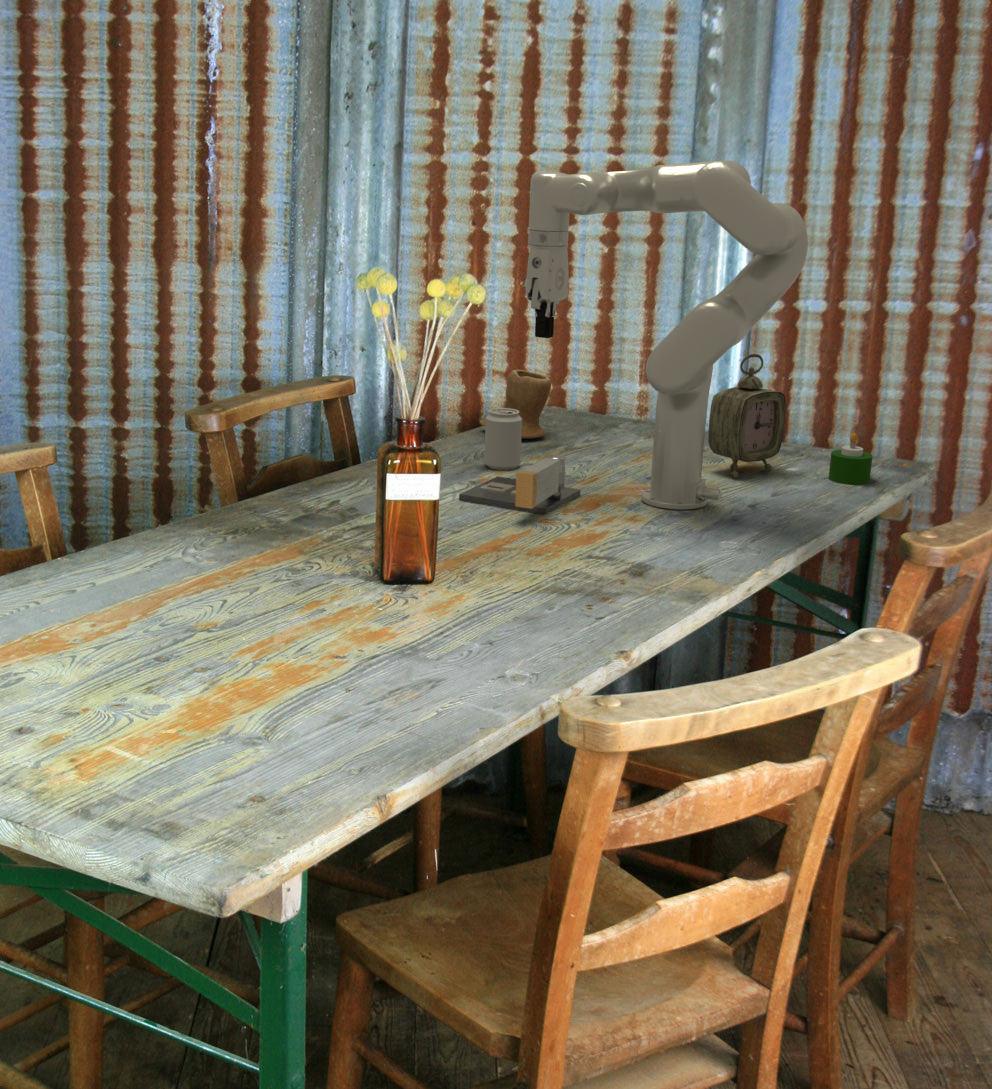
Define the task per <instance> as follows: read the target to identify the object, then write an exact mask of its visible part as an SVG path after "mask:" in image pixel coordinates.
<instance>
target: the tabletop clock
mask: <svg viewBox="0 0 992 1089" xmlns="http://www.w3.org/2000/svg"><path fill="white" fill-rule="evenodd" d="M751 358H758V359H759V360H760V366H759V367H758V368H757V369H755V368H754V367H752V366H751V367H749V368H748V371H746V370H744V369H743V367H744V366H743V365H744V363H745V362H746V361H747V360H748V359H751ZM763 367H764V358H763V357H762V356H761V355H760V354H758V353H750V354H748V355H747V354H746V356H745V357H743V359H742V360H741V363H740V366H739V368H740V371H741V372H742V374H744V375H745V376H742V377H741V378H740V379H739V380H738V382H737V384H736V386H733V387H729V388H727V389H724V390H721V391H719V392H716V394H714V395H713V397H712V399H711V404H710V409H709V410H710V411H709V419H708V436H707V437H708V438H707V439H708V445H709V449H710V450H711V451H712V453H713V454H715V455H716V456H717V455H718V456H722V457H724V458H725V457H726V458H730V459H731V461H732V463H731V464H730V466H729V467H730V470H731V472H730V477H731V478H732V479H737V478H738V477H739V472H738V471H737V470H738V469H739V465H738V462H739V461H741V462H744V463H752V462H753V463H754V462H762V463H763V464H764V467H763V469H764V471H765V472H771V471H772V469H773V466H772V464H770V463H768V462H767V459H771V458H773V457H775V456H776V455H777V454H779V452H780V451H781V450H780V449H781V447H782V443H783V439H784V434H785V426H786V425H785V424H786V410H787V409H786V408H787V407H786V406H787V404H786V396H785V393H783V392H782V391H777V390H773V389H772V390H771V389H767V388H764V386H763V382H762V381H761V379H760V378H759V377H758V376H756V374H758V373H760V371H761V370H762V369H763Z"/></svg>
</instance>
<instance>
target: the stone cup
mask: <svg viewBox="0 0 992 1089" xmlns="http://www.w3.org/2000/svg"><path fill="white" fill-rule="evenodd" d="M551 382H552V381H551V379H550V378H549V376H547V375H545V374H544V375H543V374H541V373H536V372H531V371H529V370H525V369H513V370H512V371H511V372H510V373H509V374H508V377H507V381H506V390H505V396H506V397H505V398H506V408H510V409H515V410H518V411H519V416H520V417H521V418H522V435H521V439H522V440H523V439H526V440H528V439H529V440H531V439H536V438H542V437H544V436H546V431H545V430H544V429H543V428H542V427H541V425H540V417H541V414H542V412H543V410H544V407H545V405H546V403H547V401H548V399H549V396H550V393H551V389H552V383H551ZM480 425H482V426H483V427H484V428H485V427H486V417H485V418H483V419H481V421H480Z"/></svg>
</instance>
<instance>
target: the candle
mask: <svg viewBox="0 0 992 1089" xmlns="http://www.w3.org/2000/svg"><path fill="white" fill-rule="evenodd" d="M849 441H850V444H849V445H843V446H841V449H835V450H833V451H831V454H830V462H829V470H828V471H829V472H828V480H829V481H832V482H833V483H837V484H843V485H851V486H852V485H853V486H861V485H862V486H863V485H868V484H869V483H870V481H871V473H872V472H871V471H872V463H873V454H871V453H869V452H867V451H864V447H861V446H856V445H857V441H858V435H857V433H855V432H852V434H851V435H850V437H849Z"/></svg>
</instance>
